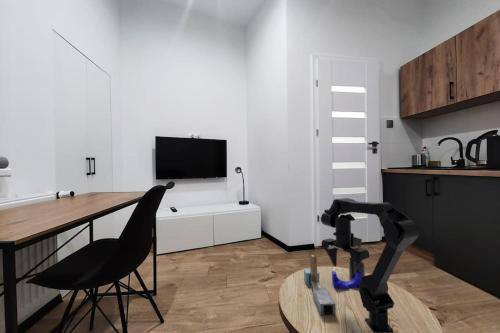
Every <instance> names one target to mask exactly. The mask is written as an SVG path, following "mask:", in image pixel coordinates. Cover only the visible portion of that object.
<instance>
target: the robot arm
mask: <svg viewBox="0 0 500 333" xmlns="http://www.w3.org/2000/svg"><path fill="white" fill-rule="evenodd" d="M351 213H358V214H368V215H375V216H377V218H378V220H379V224H380V226H381V228H382V229H384V231H385V234H384V238H385V246H384V247H383V250H382V252H381V253H380V256H379V259H378V260H377V261H376V265H375V266H374V268H373V271H372V273H371V274H367V275H366V274H365V276H363V277H362V279H361V282H360V284H359V285H360V287H359V288H358V292H359V296H360V299H361V303H362V306H363V308H364V309H365V310H366V312H368V318H364V321H365V323H366V324H367V326H368V327H369V329H370V330H371V331H372V332H374V333H393V332H394V329H393V327H391V326H390V324H389V314H388V313H389V312H388V311H389V309H393V308H394V307H395V302H394V300H393V298H392V297H391V295H390V293H389V285H388V281H389V279H390V278H391V275H392V274H393V271H394V269H395V268H396V266H397V264H398V262H399V260H400V257H401V256H402V254H403V252H404V251H405V249H407V248H408V247H409V246H411V245H412V244H413V243H414V242H416V241H417V238H418V237H419V236H420V233H421V231H420V229H419V226H418V225H417V223H416V222H415V221H412V219H410V218H409V217H408V216H407V215H406V214H405V213H403V212H401V211H400V210H398V209H396V207H395V206H394V205H393V204H392V203H389V202H387V201H386V202H369V201H357V200H355V199H352V198H348V197H345V198H344V197H343V198H335V199H333V201H332V203H331V206H330V208H329V209H324V212H323V213H321V217H320V223H321V224H322V225H324V226H327V227H331V228H334V229H335V232H333V233H332V234H333V236H335V239H334V238H331V237H329V238H326V239H322V241H321V247H322V248H323V249H324V251H325V252H326V254H327V255H328V258H329V259H330V261H331V263H332V265H333V267H336V266H337V262H338V260H337V258H338V256H337V255H338V254H337V253H338V250H340V251H344V252H346V253H349V256H350V257H349V261H350V263H351V269H352V273H353V275H355V274H356V272H357V269H358V266H359V264H360V262H361V261H362V262H363V261H364V260H366V259H369V258H370V251H369V250H368V249H367V248H363V247H361V245H362V241H363V239H362V238H359V237H356V236H355V234H354V233H353V232H352V222H354V221H356V218H355V217H354V216H352V214H351ZM391 219H392V220H394V221H392V220H391ZM354 247H355V248H354Z"/></svg>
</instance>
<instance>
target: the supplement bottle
mask: <svg viewBox="0 0 500 333" xmlns="http://www.w3.org/2000/svg"><path fill="white" fill-rule="evenodd" d="M357 272H360V274H361V279H362V277H363V276H366V265H365V263H364V261H363V260H362V261H361V262H360V264H359V266H358V269H357ZM355 275H356V274H355ZM355 275H353V273H352V269H351V263H350V260H349V261H348V276H349V278H348V279H349V280H348V281H351V280H352V279H353V278H354V277H355Z"/></svg>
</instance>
